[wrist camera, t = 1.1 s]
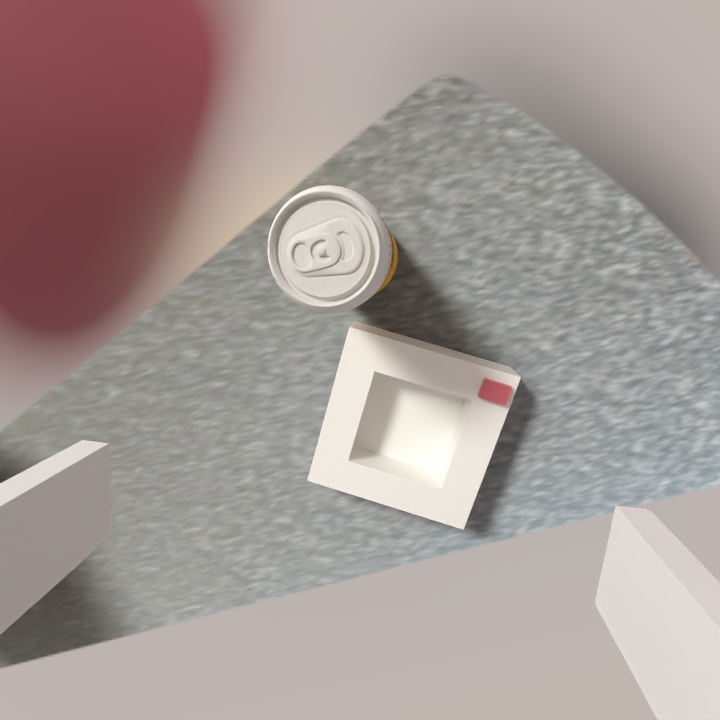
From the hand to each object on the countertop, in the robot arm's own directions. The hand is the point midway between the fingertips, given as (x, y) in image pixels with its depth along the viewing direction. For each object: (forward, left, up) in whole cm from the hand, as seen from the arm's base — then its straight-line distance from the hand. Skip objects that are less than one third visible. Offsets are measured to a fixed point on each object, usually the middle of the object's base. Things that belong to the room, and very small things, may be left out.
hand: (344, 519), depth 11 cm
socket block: (+3, -5, -26) cm, 26 cm away
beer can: (-4, +6, -26) cm, 27 cm away
